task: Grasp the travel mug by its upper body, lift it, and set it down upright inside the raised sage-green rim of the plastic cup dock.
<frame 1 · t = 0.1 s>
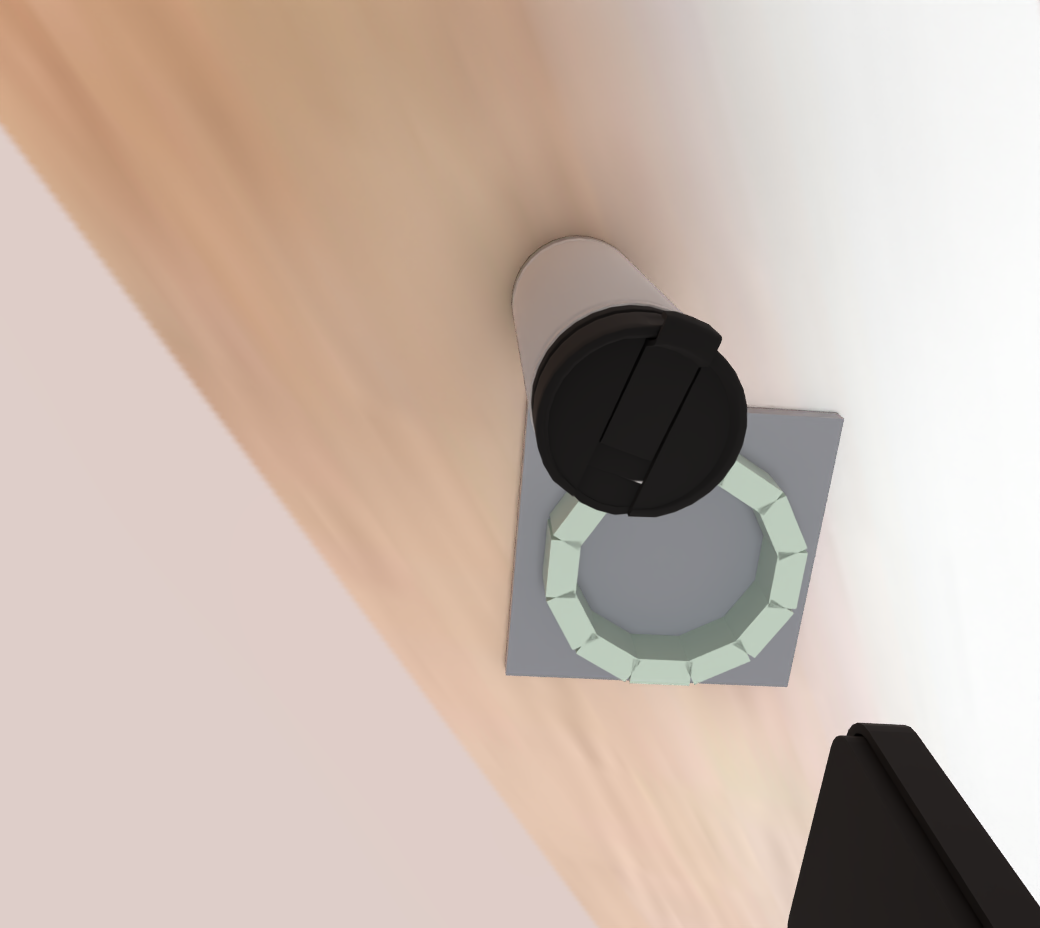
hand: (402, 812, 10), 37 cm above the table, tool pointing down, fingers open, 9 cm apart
cup dock: (663, 544, 50), on the table
travel mug: (576, 296, 45), on the table
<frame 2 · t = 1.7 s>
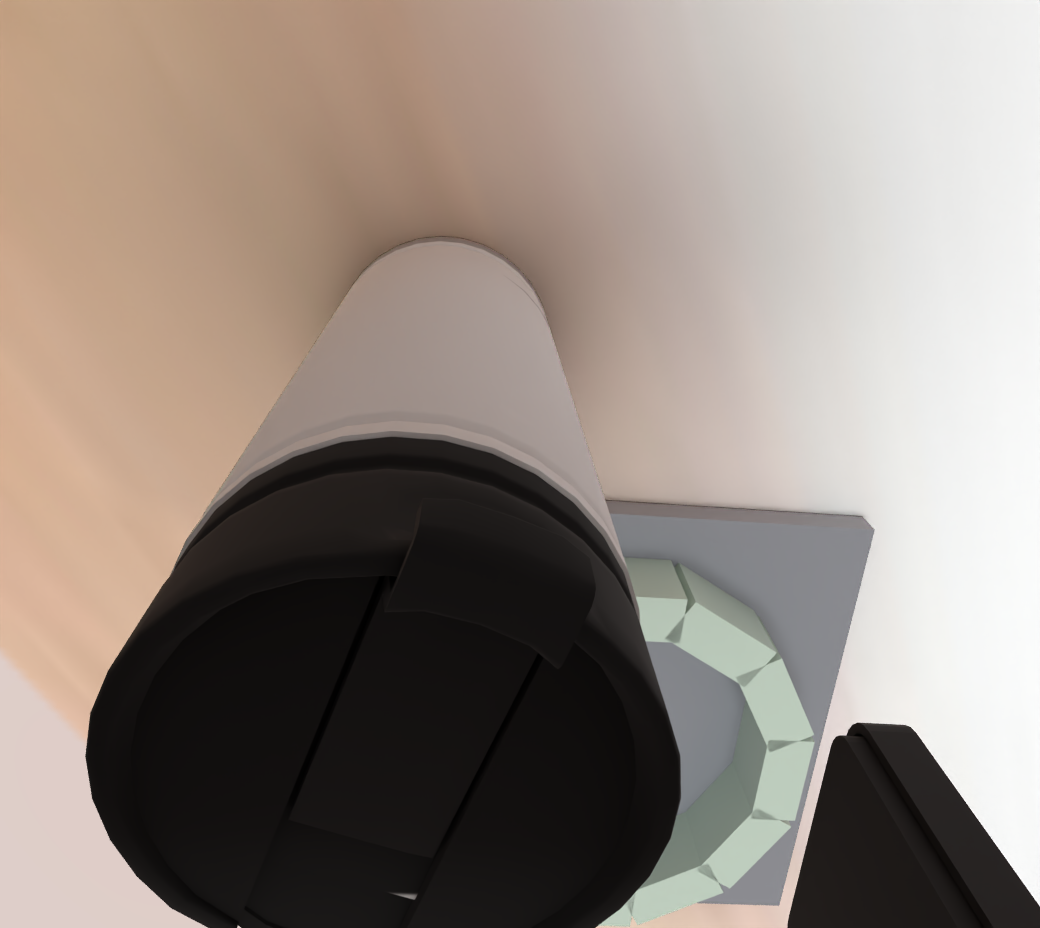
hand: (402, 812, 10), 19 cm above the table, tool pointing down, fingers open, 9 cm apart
cup dock: (594, 706, 33), on the table
travel mug: (446, 334, 28), on the table
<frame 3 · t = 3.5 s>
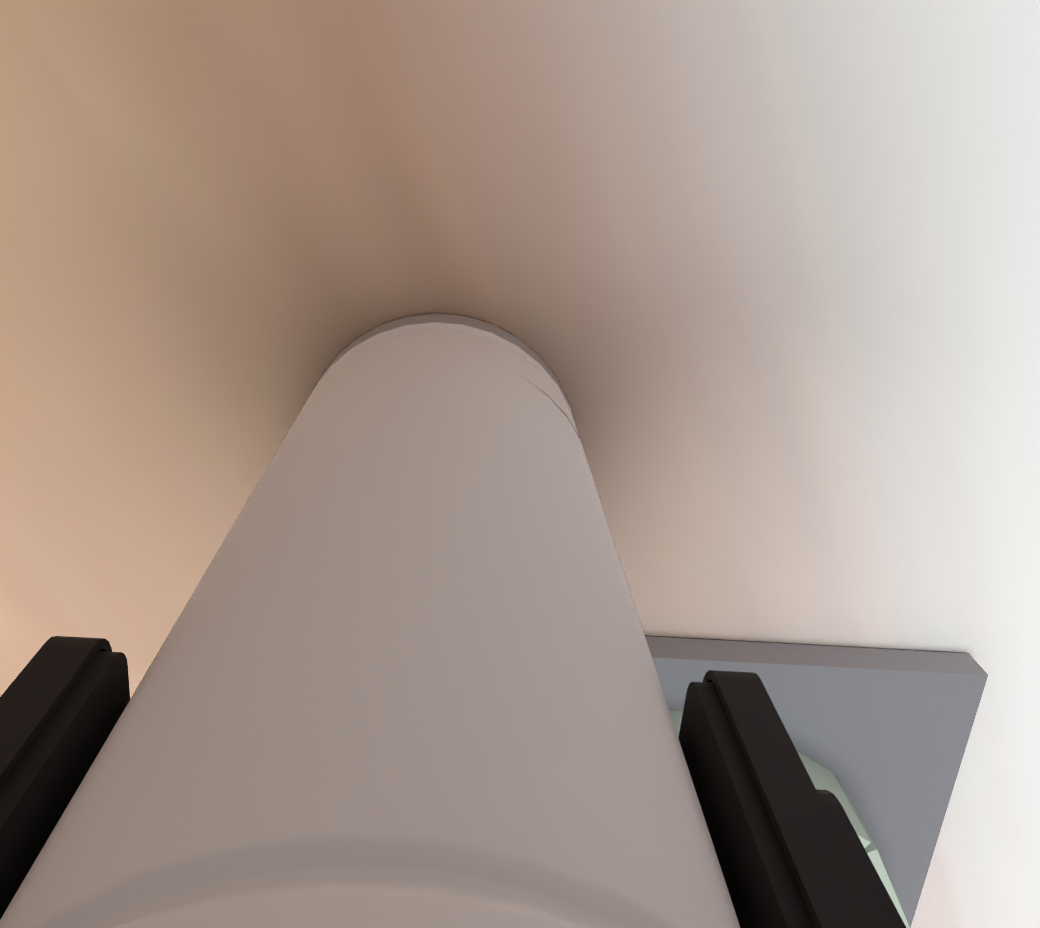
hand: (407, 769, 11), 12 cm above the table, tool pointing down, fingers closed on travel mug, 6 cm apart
cup dock: (628, 879, 26), on the table
travel mug: (443, 434, 22), on the table, touching gripper
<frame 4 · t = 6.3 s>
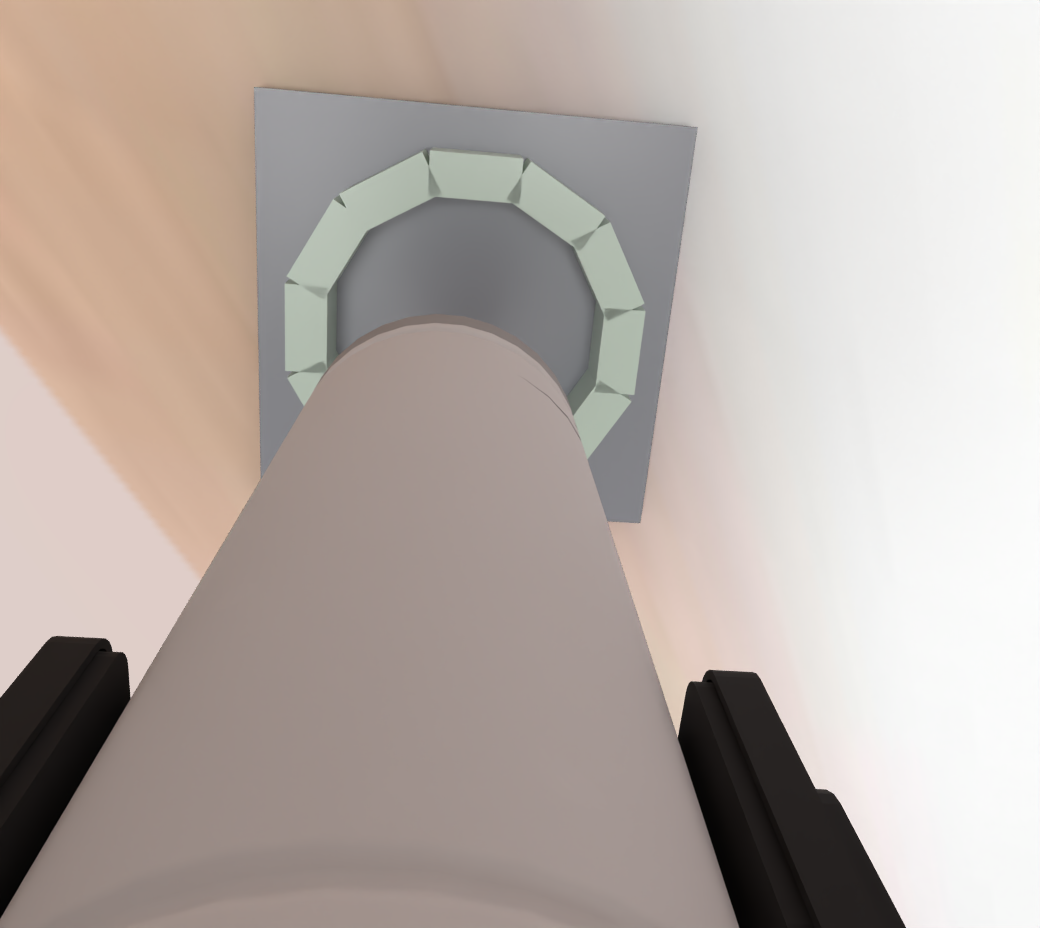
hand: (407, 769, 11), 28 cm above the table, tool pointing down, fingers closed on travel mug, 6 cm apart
cup dock: (465, 320, 37), on the table
travel mug: (444, 435, 22), point 16 cm above the table, touching gripper
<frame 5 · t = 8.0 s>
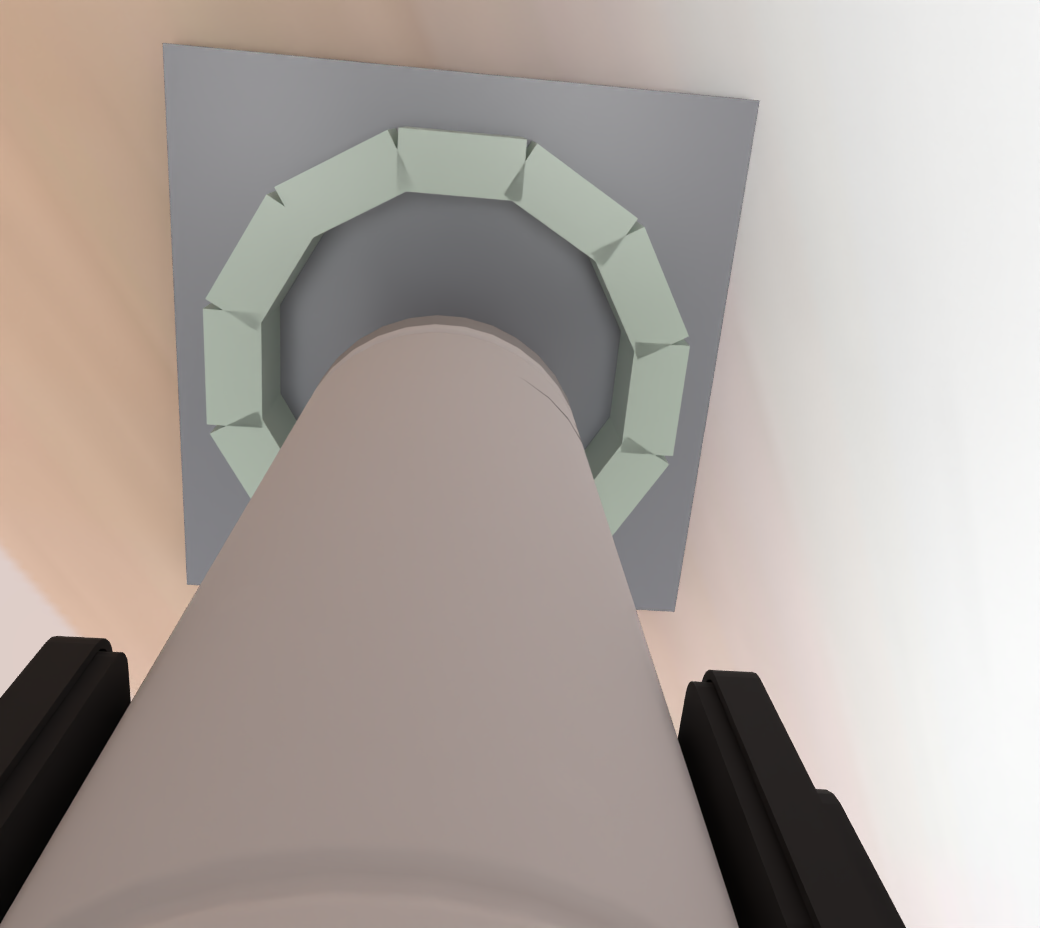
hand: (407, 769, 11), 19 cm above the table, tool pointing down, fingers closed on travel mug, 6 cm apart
cup dock: (450, 354, 28), on the table
travel mug: (444, 436, 22), point 7 cm above the table, touching gripper
when the fingers open (14 cm above the table, at t = 9.5 s): travel mug drops 1 cm, resting on cup dock.
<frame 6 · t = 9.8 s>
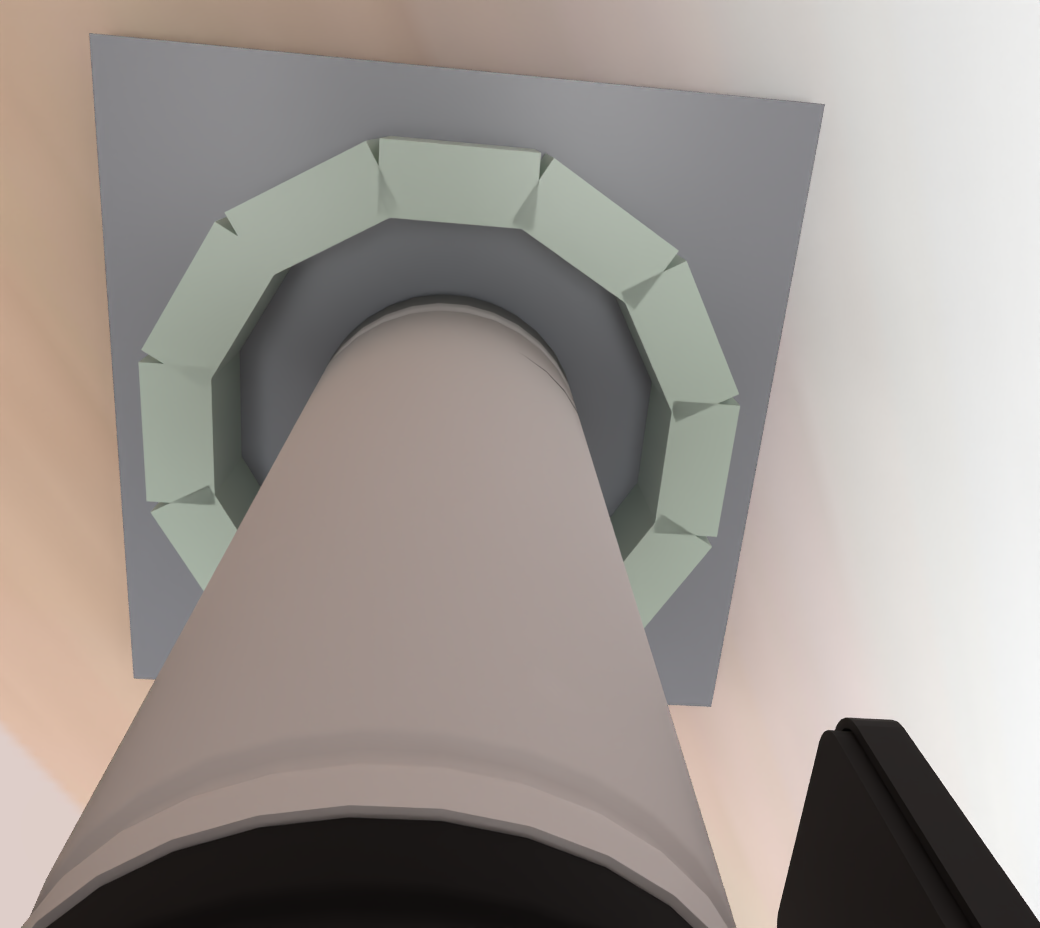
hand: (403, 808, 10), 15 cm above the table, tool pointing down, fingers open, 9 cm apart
cup dock: (446, 407, 24), on the table
travel mug: (449, 409, 23), point 1 cm above the table, touching cup dock
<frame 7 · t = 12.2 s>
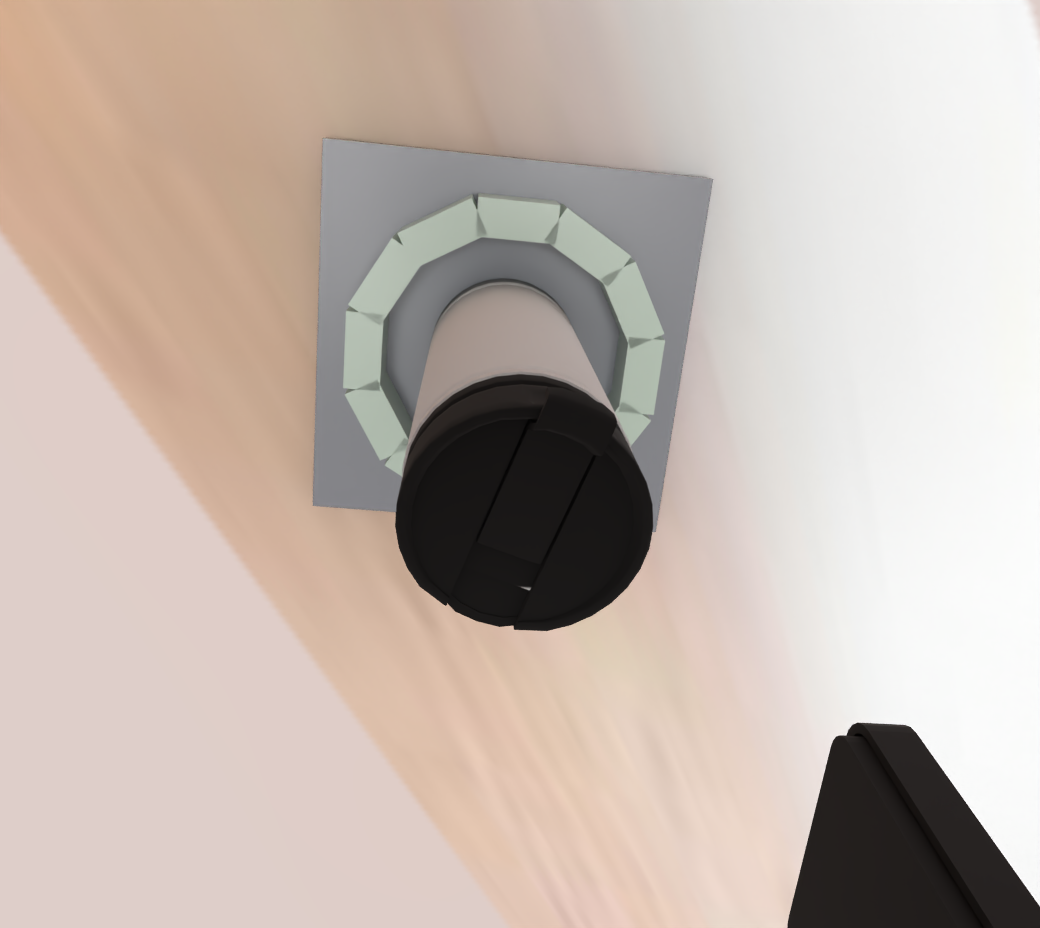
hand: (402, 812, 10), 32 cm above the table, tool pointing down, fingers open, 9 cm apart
cup dock: (502, 345, 41), on the table
travel mug: (504, 345, 40), point 1 cm above the table, touching cup dock
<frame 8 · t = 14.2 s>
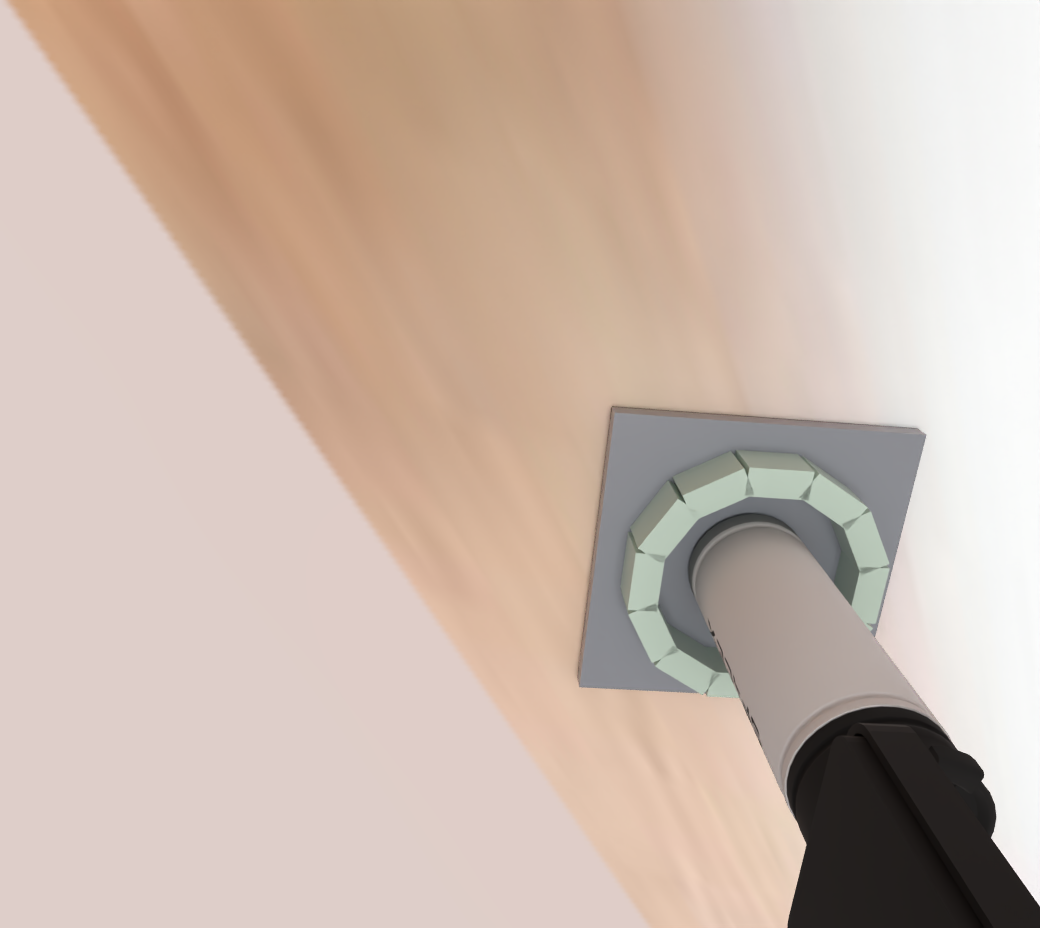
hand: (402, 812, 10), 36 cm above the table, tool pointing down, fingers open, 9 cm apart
cup dock: (739, 558, 50), on the table
travel mug: (746, 561, 49), point 1 cm above the table, touching cup dock
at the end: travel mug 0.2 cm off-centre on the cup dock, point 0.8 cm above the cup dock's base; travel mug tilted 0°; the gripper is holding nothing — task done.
